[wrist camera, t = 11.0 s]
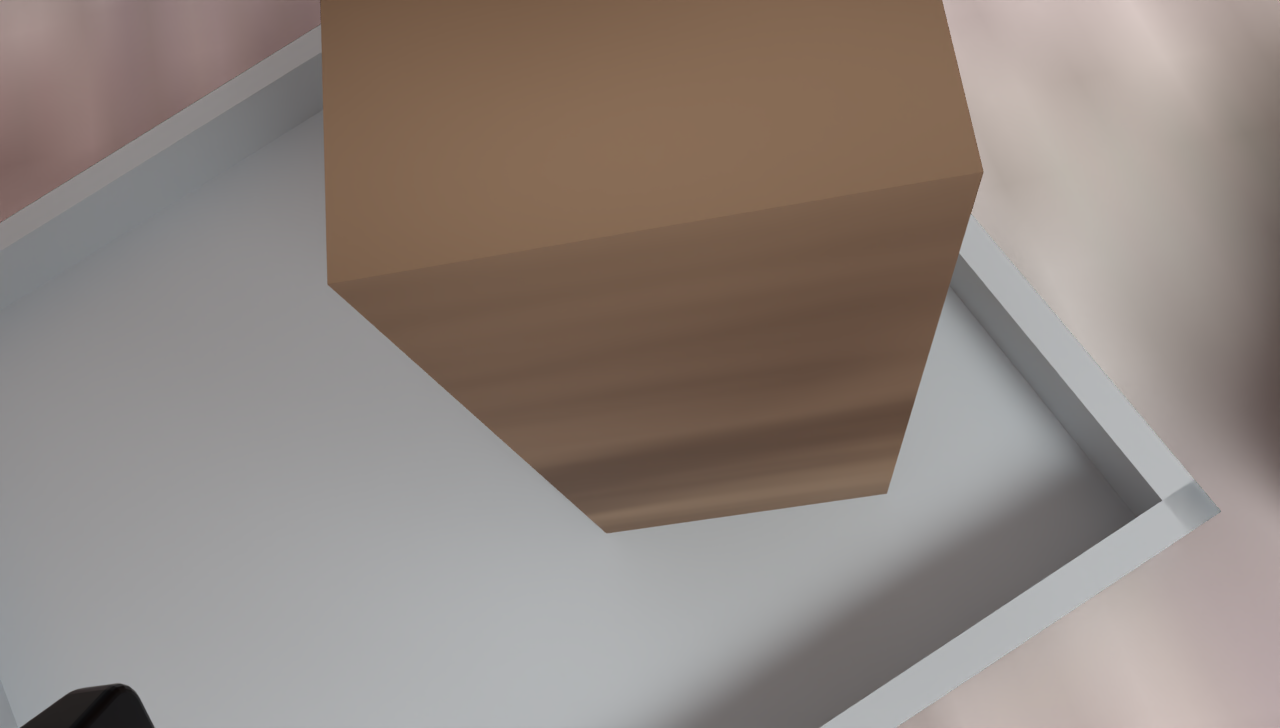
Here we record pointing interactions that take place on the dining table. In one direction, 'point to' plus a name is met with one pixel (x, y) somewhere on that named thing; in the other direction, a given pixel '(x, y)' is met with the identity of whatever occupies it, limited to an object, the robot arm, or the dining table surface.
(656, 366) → the walnut block
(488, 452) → the plastic tray
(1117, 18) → the dining table surface
